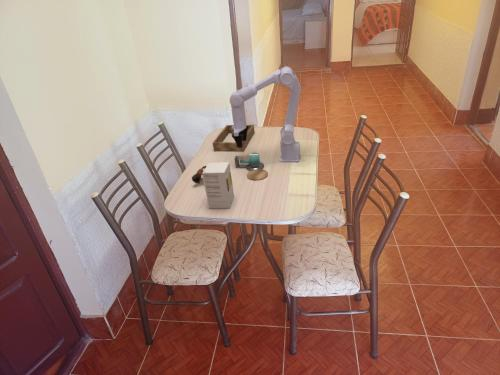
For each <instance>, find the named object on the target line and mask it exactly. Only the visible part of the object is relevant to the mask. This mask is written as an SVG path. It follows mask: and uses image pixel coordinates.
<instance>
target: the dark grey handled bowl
mask: <svg viewBox="0 0 500 375" xmlns="http://www.w3.org/2000/svg"><path fill="white" fill-rule="evenodd" d="M244 158H245V157H244V155H235V157H234V164H235V165H234V166H235V169H246V171H248V172H249V171H251V170H258V169H263V170H264V168H265V164H264V163H263V162H261V161H260V163H259V164H257V165H251V164H249V163H240V160H244Z"/></svg>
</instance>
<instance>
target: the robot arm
mask: <svg viewBox="0 0 500 375" xmlns="http://www.w3.org/2000/svg"><path fill="white" fill-rule="evenodd" d="M273 84H276V85H280V84H282V86H285V87H286V88H287V89H288V90H289V91H290V92H289V97H288V103H287V109H286V114H285V118H284V122H283V126H282V128H281V130H280V137H281V138H280V141H279V143H280V145H279V146H280V158H279V160H278V161H279V162H283V163H284V162H286V163H287V162H288V163H289V162H291V163H298V162H299V161H300V157H301V147H300V146H301V145H300V143H301V142H300V141H296V139H295V135H294V133H295V123H296V119H297V118H296V117H297V113H298V108H299V102H300V97H301V94H302V87H301V86H302V85H301V83H300V81H299V79H298V76H297V74H296V72H295V70H293V69H292V67H290V66H283V67H282V68H280V69H276V70H275V71H273V72H272V73H269V74H268V75H267V76H265V77H264V78H262V79H261V80H260V81H258V82H256V83H246V84H245V85H244V87H242V88H240V89H237V90H236V91H234V92H233V91H232V93H231V94H230V97H229V104H230V107H231V116H232V123H233V124H232V125H234V126H232V129H234V133H231V138H232V139H233V140H234V142H236V144H237V147H239V148H242V141H246V139H247V131H248V128H249V126H246V125H247V122H246V118H245V117H246V116H245V109H244V106H243V102H246V101H249V100H250V99H251V98H254V97H255V96H257V94H258V92H259V91H260V90H263V89H264V88H267V87H268V86H270V85H273Z"/></svg>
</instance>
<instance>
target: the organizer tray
mask: <svg viewBox="0 0 500 375" xmlns="http://www.w3.org/2000/svg"><path fill="white" fill-rule="evenodd" d="M254 125H255V124H246V126H249V128H248V131H247V139H246V141H242V148H239V147H237V144H236V142H235V141H233V142H227V141H226V142H225V139H226V138H227V137H226V136H228V135H229V134H234V129H232V126H234V124H226V125H225V126H224V128H223V129H222V130H221V131H220V133H219V134H218V135H217V137H216V138H215V139H214V140H213V142H212V147H213V152H230V153H231V152H236V153H237V152H238V153H239V152H243V153H244V152H245V150H246V148H247V146H248V145H249V144H250V141H251V140H252V138H253V137H254V134H255V126H254Z"/></svg>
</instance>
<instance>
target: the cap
mask: <svg viewBox="0 0 500 375" xmlns="http://www.w3.org/2000/svg"><path fill="white" fill-rule="evenodd" d="M260 162H261V160H260V153H257V152H252V153H250V154H248V159H239V164H251V165H257V164H259V163H260Z"/></svg>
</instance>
